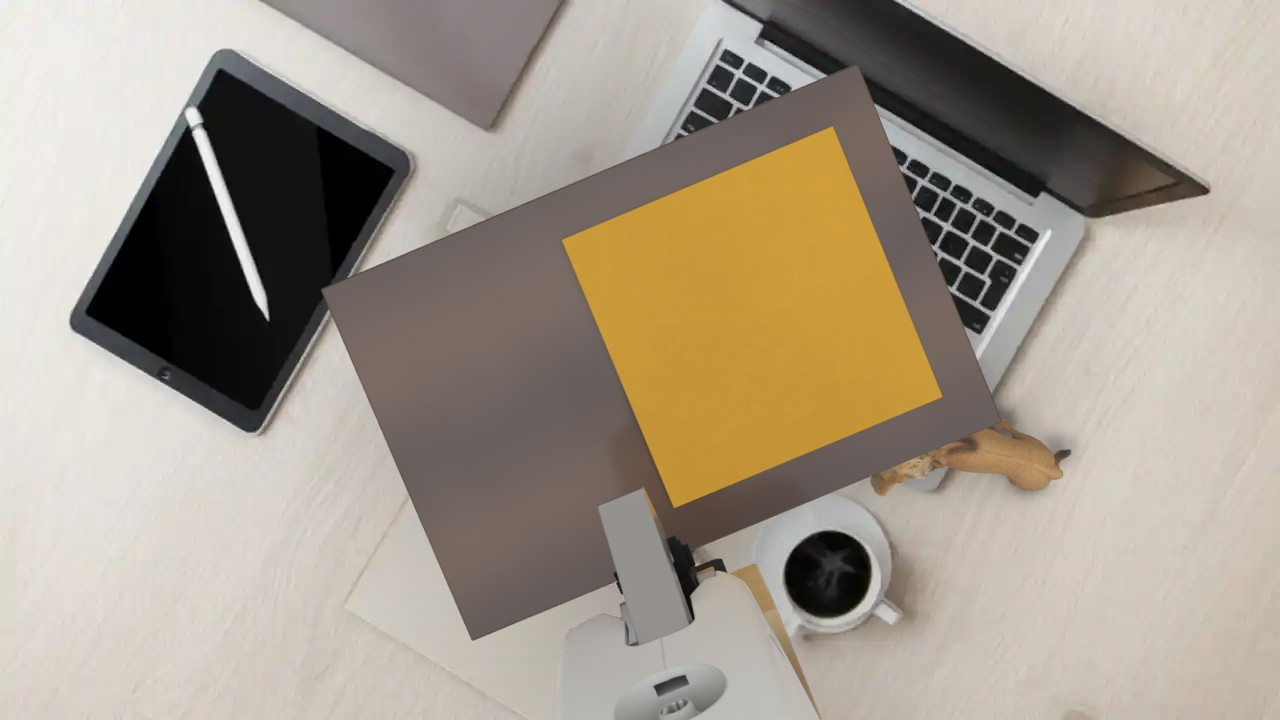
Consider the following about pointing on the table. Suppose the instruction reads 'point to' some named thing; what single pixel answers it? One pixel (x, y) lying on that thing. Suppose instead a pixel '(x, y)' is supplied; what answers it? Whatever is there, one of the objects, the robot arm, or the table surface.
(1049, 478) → the lion figurine
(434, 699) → the table surface
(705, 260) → the felt cloth
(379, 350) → the walnut stand
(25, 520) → the table surface
